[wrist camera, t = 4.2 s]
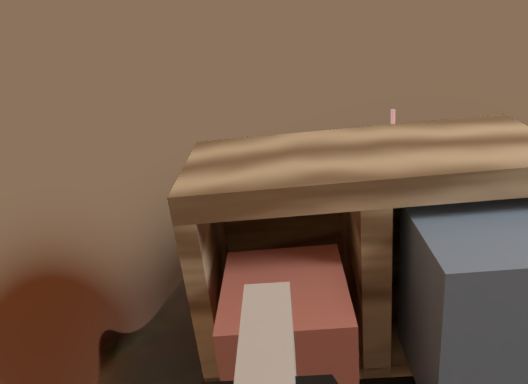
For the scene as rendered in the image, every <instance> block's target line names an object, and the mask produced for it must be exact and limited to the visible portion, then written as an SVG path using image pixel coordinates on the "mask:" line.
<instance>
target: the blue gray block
mask: <svg viewBox="0 0 528 384" xmlns="http://www.w3.org/2000/svg"><path fill="white" fill-rule="evenodd" d="M398 337H399V339H400V342H401V345H402V348H403V350H404V353H405V356H406V359H407V361H408V364H409V367H410V369H411V372H412V375H413V378H414V380H415V383H416V384H528V198H515V199H503V200H490V201H478V202H465V203H453V204H441V205H428V206H416V207H404V208H400V250H399V301H398Z"/></svg>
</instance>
